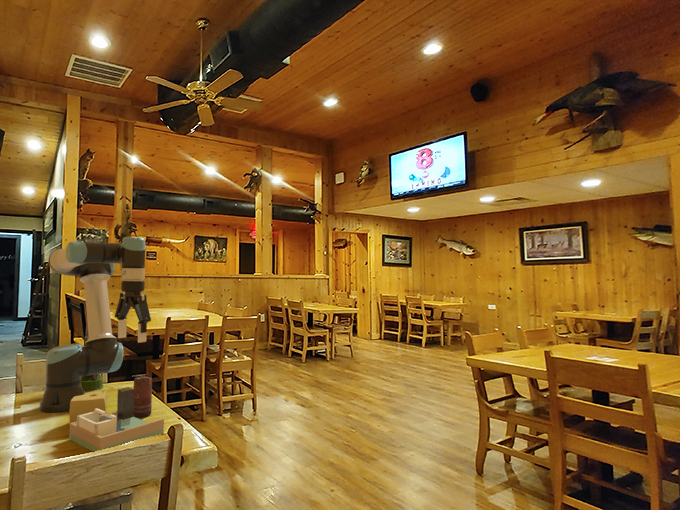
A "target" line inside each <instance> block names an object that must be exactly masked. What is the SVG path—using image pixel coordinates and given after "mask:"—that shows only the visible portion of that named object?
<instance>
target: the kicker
mask: <svg viewBox="0 0 680 510" xmlns="http://www.w3.org/2000/svg"><path fill="white" fill-rule="evenodd" d="M116 405H117V409H116V411H117V429H116V432H119V431H121V427H124V426H127V425H130V418H131V417H134V416H133V409H134V388H132V387H129V386H128V387H123V388H119V389H117V404H116ZM109 419H112V418H109V417H107V416H106V420H109Z"/></svg>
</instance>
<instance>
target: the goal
mask: <svg viewBox="0 0 680 510" xmlns="http://www.w3.org/2000/svg"><path fill="white" fill-rule="evenodd" d="M110 413H111V412H105V411H103V410H100V409H98V408H96V409H95V411H94V412H90V413H86V414H82V415H78V416H77V426H79V427H81V428H83V429H85V430H87V431H89V432H92V433H94V434H96V435H97V434H99V435H101V436H106V435H109V434H112V433H116V429H117V416H115V415H113V414H110ZM99 414H102V415H104V416H107V417H109V418H112V419H109V420H106V421H102V422H99Z"/></svg>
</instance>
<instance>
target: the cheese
mask: <svg viewBox="0 0 680 510" xmlns="http://www.w3.org/2000/svg"><path fill="white" fill-rule="evenodd" d="M107 394H108V393H107V391H106V390H100V391H99V390H96V391H89V392H84V394H83V395H80V396H75V397H73V398H72V399H71V402H70V410H68V411H69V418H68V419H69V424H70V423H73V422H77V416H78V415H82V414H86V413H90V412H94V411H95V409H96V408H98V409H100V410H103V411H105V412H107V409H108V408H107V407H108V405H107V399H108V397H107V396H108V395H107ZM100 415H102V414H99V416H100Z"/></svg>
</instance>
